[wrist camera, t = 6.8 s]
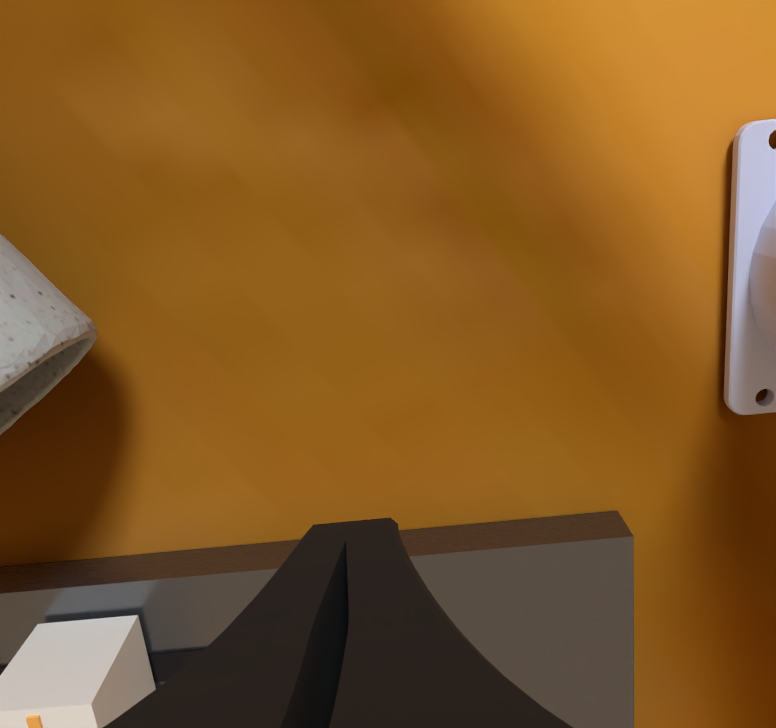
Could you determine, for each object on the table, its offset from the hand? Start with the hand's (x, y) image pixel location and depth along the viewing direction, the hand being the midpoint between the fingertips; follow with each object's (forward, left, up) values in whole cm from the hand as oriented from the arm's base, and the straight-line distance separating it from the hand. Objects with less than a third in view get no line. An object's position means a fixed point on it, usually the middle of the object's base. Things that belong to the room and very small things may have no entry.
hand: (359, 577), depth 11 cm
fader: (+9, +8, -8) cm, 15 cm away
